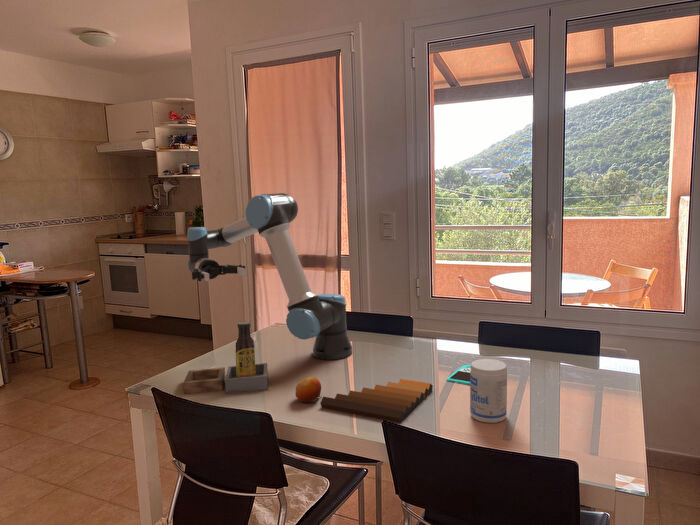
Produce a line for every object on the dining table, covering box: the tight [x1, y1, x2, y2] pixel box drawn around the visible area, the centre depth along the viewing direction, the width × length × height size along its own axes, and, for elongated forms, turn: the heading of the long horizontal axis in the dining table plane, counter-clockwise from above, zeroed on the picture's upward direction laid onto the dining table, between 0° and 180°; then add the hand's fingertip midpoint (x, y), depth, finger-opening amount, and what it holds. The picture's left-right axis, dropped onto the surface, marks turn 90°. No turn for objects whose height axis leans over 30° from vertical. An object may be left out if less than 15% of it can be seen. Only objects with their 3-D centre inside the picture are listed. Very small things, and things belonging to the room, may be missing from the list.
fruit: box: [295, 376, 323, 404], centre depth 160 cm, size 8×8×8 cm
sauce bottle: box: [235, 321, 256, 378], centre depth 174 cm, size 6×6×20 cm
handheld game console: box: [446, 364, 471, 386], centre depth 174 cm, size 10×16×1 cm, turn 146°
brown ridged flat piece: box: [320, 378, 434, 424], centre depth 158 cm, size 25×3×25 cm
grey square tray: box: [224, 362, 269, 394], centre depth 175 cm, size 13×13×4 cm
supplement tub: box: [469, 358, 508, 424], centre depth 142 cm, size 10×10×15 cm
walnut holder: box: [182, 366, 226, 395], centre depth 176 cm, size 12×12×4 cm
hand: (227, 275), depth 189 cm, fingers open, 13 cm apart
